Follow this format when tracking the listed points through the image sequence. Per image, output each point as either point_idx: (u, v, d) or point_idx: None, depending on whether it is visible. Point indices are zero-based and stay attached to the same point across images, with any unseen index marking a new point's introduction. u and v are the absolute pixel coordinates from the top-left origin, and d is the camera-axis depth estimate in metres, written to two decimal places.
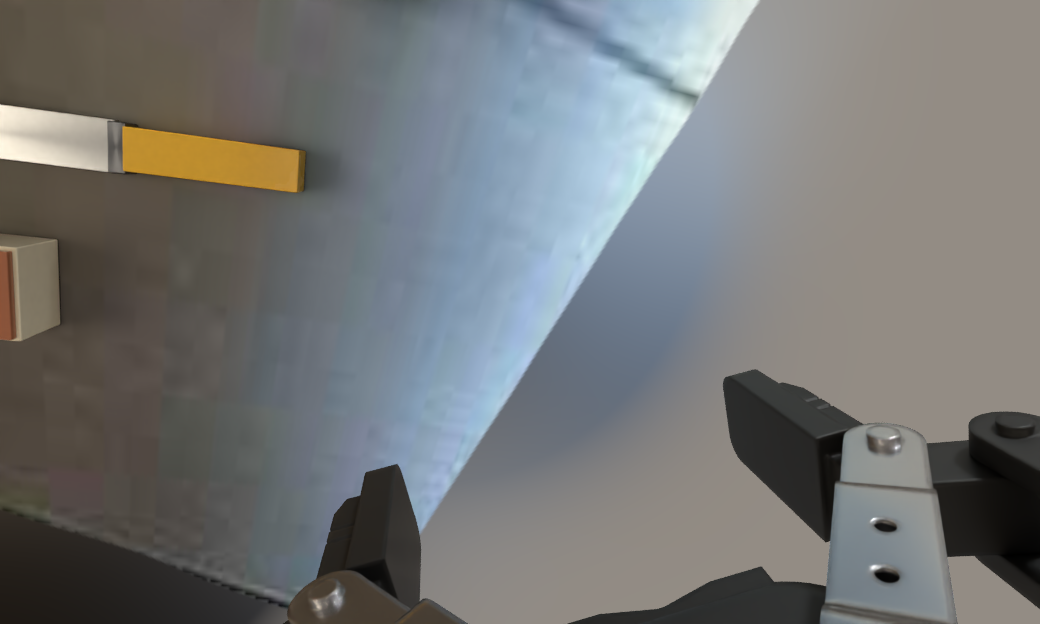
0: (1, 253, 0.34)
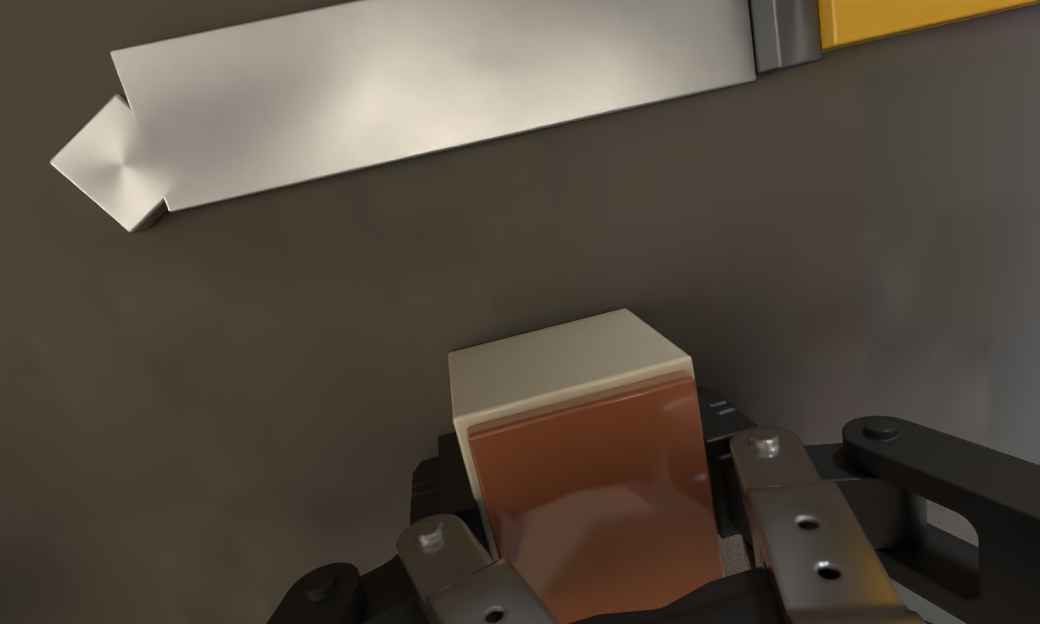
0: (681, 386, 0.11)
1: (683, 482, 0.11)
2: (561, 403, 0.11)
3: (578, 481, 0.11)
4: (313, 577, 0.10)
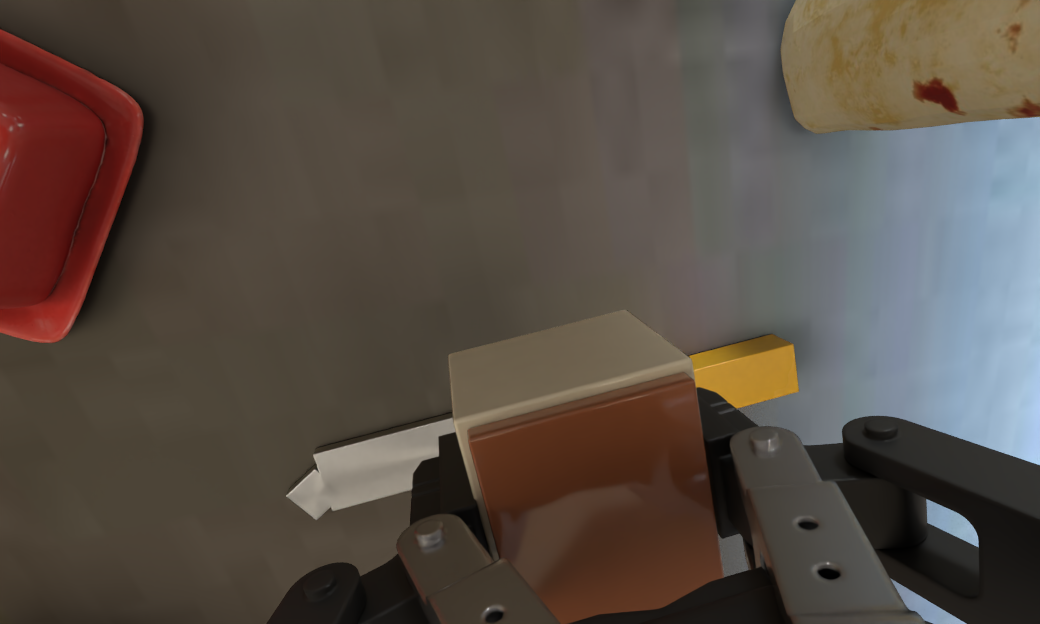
0: (682, 388, 0.11)
1: (684, 484, 0.11)
2: (561, 405, 0.11)
3: (578, 483, 0.11)
4: (313, 577, 0.10)
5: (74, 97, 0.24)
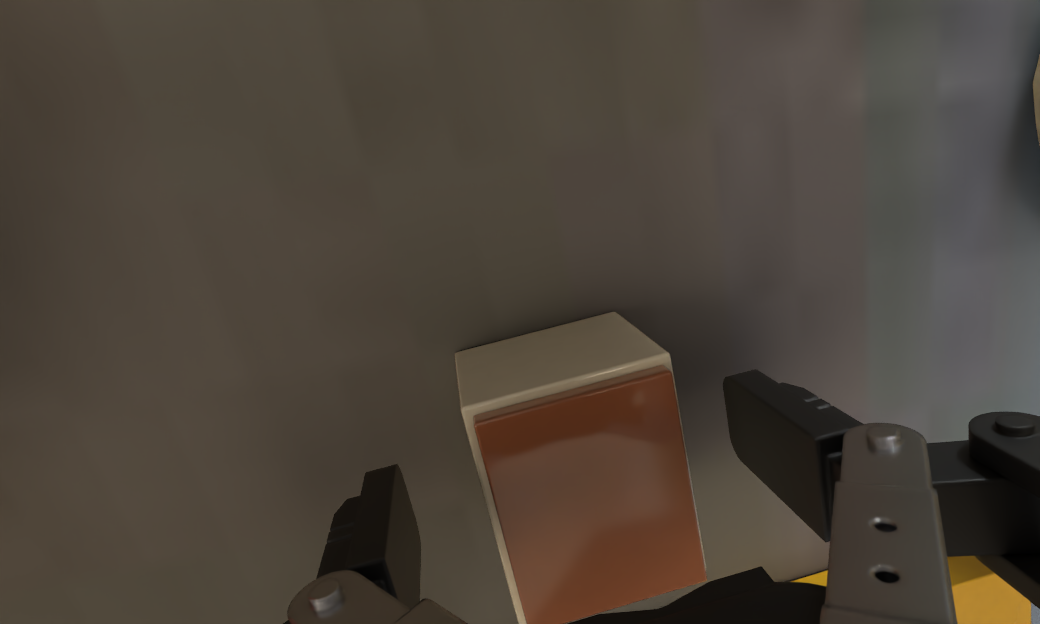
0: (660, 379, 0.12)
1: (663, 463, 0.13)
2: (555, 394, 0.13)
3: (570, 462, 0.13)
4: None
5: None
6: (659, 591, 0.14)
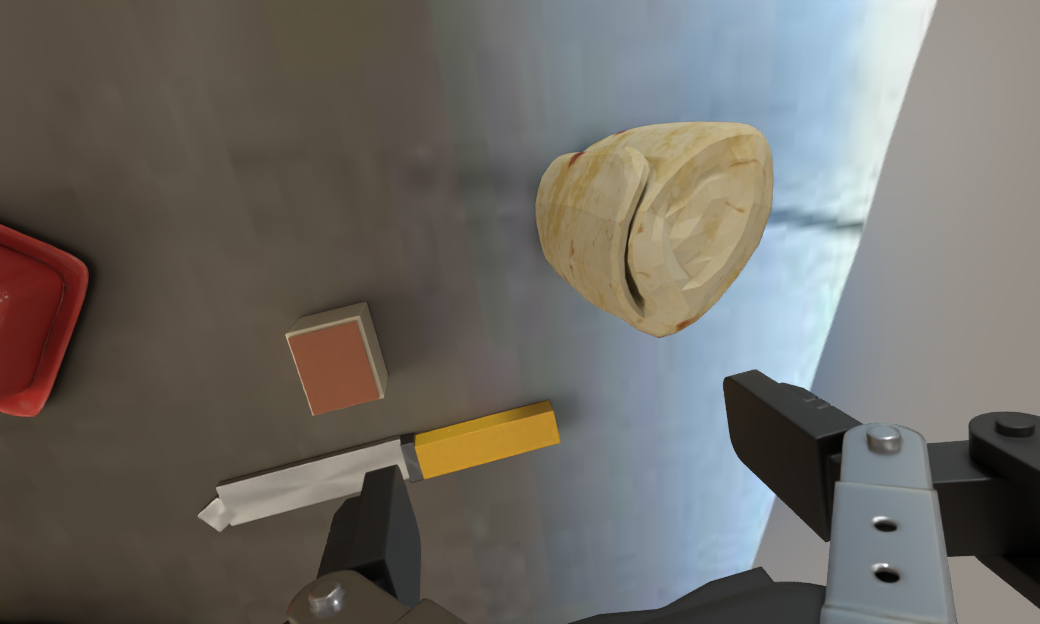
0: (352, 324, 0.37)
1: (357, 354, 0.37)
2: (318, 329, 0.37)
3: (322, 352, 0.37)
4: None
5: (42, 261, 0.36)
6: (362, 402, 0.38)
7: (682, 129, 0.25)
